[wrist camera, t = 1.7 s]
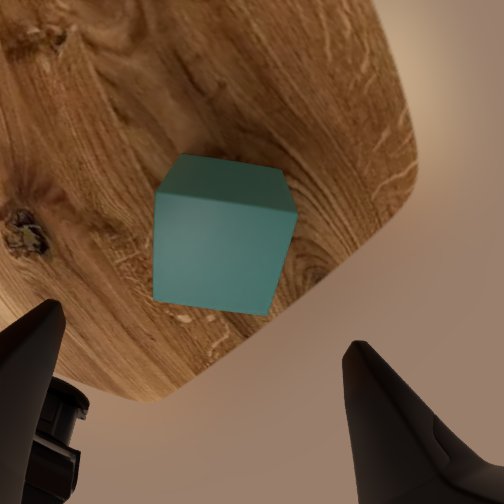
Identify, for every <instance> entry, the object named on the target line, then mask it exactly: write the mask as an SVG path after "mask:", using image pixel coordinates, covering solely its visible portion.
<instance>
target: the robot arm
mask: <svg viewBox="0 0 504 504" xmlns="http://www.w3.org/2000/svg"><path fill="white" fill-rule="evenodd" d="M65 327H66V319H65V316H64V312H63V309H62V305H61V303H60V302H59V301H57V300H53V299H47V300H45V301H44V302H42V303H41V304H39V305H38V306H37V307H35V308H34V309H32V310H31V311H29V312H28V313H26V314H25V315H24V316H22V317H21V318H19V319H18V320H17V321H15V322H14V323H12V324H11V325H10V326H8V327H7V328H6V329H4V330H3V331H1V332H0V504H64V503H65V502H66V501H67V500H68V499H69V498H70V495H71V494H72V493H73V492H74V490H75V487H76V484H77V479H78V470H79V462H80V455H81V451H78V450H75V449H73V448H70V447H69V444H70V440H71V436H72V433H73V429H74V425H75V422H76V418H78V419H82V420H85V419H86V416H85V414H84V413H83V411H82V409H81V407H80V405H79V403H78V402H77V400H76V398H75V397H74V396H72V395H69V394H66V393H63V392H60V391H57V390H54V389H51V388H48V387H49V384H50V381H51V378H52V375H53V372H54V369H55V365H56V361H57V357H58V353H59V349H60V345H61V341H62V338H63V334H64V331H65ZM342 370H343V384H344V400H345V409H346V415H347V420H348V427H349V434H350V440H351V447H352V453H353V461H354V469H355V476H356V485H357V493H358V502H359V504H504V467H503V466H497V465H493V464H490V463H488V462H486V461H484V460H483V459H482V458H480V457H479V456H478V455H477V454H476V453H475V452H474V451H473V450H472V449H470V448H469V447H468V446H467V445H466V444H465V443H464V442H463V441H461V440H460V439H459V438H458V437H457V436H456V435H455V434H454V433H453V432H452V431H451V430H450V429H449V428H448V427H447V426H446V425H445V424H444V423H443V422H442V421H441V420H440V419H439V418H438V416H437V415H435V414H434V412H433V411H432V410H431V409H430V408H429V407H428V406H427V405H426V404H425V403H424V402H423V401H422V400H421V399H420V397H419V396H418V395H417V394H416V393H415V392H414V391H413V390H412V389H411V388H410V387H409V386H408V385H407V384H406V383H405V381H403V380H402V378H401V377H400V376H399V375H398V374H397V373H396V372H395V371H394V370H393V369H392V368H391V367H390V366H389V365H388V363H387V362H385V360H384V359H383V358H382V357H381V356H380V355H379V354H378V353H377V352H376V351H375V350H374V349H373V348H372V347H371V346H370V345H369V344H368V343H367V342H366V341H358V340H355V341H353V342H352V343H351V345H350V346H349V348H348V350H347V351H346V353H345V354H344V356H343V359H342Z"/></svg>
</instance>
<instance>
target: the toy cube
mask: <svg viewBox="0 0 504 504" xmlns="http://www.w3.org/2000/svg"><path fill="white" fill-rule="evenodd" d="M298 215H299V214H298V211H297V208H296V205H295V203H294V200H293V198H292V195H291V192H290V190H289V187H288V185H287V182H286V180H285V177H284V174H283V172H282V170H281V169H276V168H271V167H265V166H260V165H254V164H248V163H242V162H236V161H230V160H224V159H217V158H210V157H203V156H196V155H188V154H181V155H180V156H179V158H178V159H177V161H176V162H175V164H174V165H173V166H172V168H171V169H170V171H169V172H168V174H167V175H166V177H165V178H164V180H163V181H162V183H161V184H160V186H159V187H158V189H157V190H156V192H155V207H154V231H153V300H154V301H160V302H166V303H173V304H179V305H186V306H193V307H200V308H207V309H215V310H222V311H230V312H238V313H246V314H255V315H264V316H267V315H268V313H269V310H270V307H271V303H272V300H273V297H274V294H275V291H276V288H277V284H278V281H279V278H280V275H281V271H282V268H283V265H284V262H285V258H286V255H287V252H288V248H289V245H290V242H291V238H292V235H293V232H294V228H295V225H296V221H297V218H298Z"/></svg>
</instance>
